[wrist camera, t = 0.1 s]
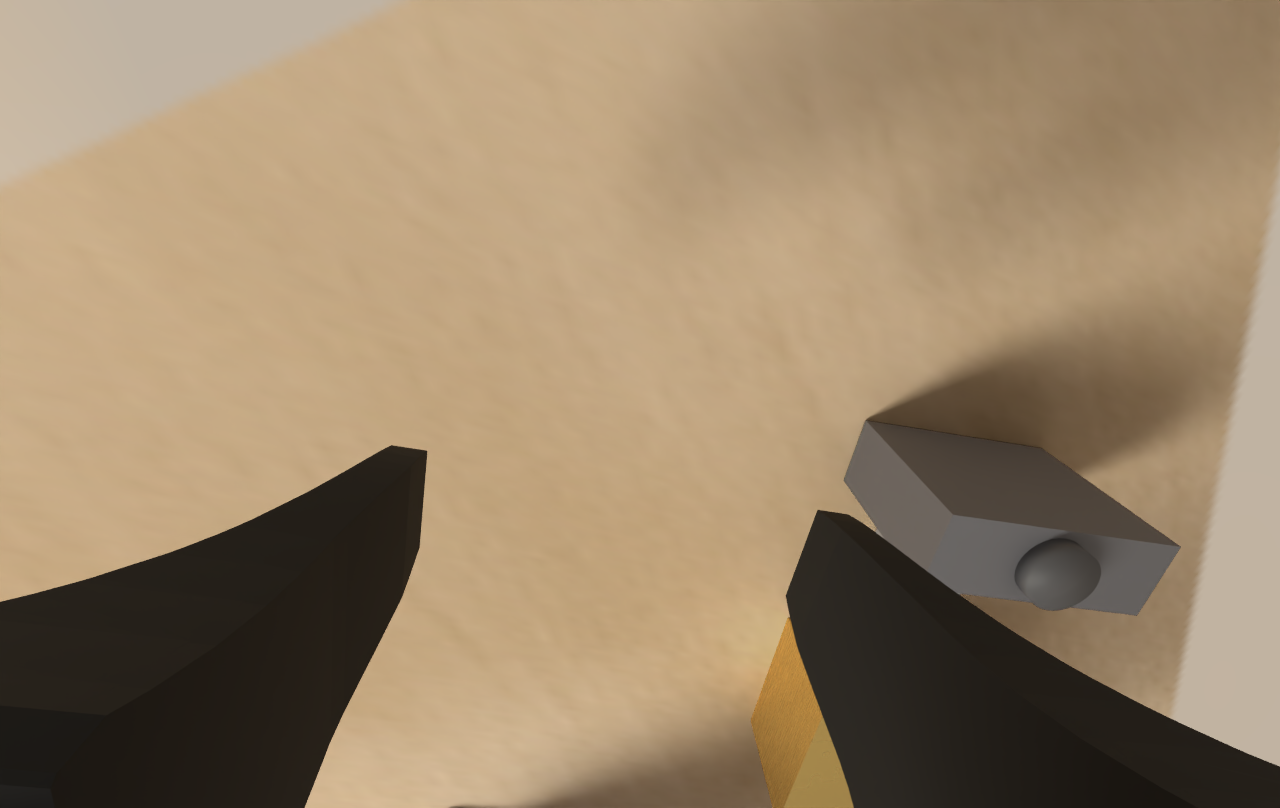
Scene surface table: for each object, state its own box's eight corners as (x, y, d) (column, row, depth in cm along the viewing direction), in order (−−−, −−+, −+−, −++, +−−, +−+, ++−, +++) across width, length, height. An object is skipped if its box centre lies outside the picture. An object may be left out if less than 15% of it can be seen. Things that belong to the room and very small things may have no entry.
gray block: (958, 615, 26) (1067, 760, 20) (801, 596, 25) (864, 742, 19) (1041, 448, 23) (1199, 560, 17) (865, 420, 22) (965, 528, 16)
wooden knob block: (902, 733, 29) (957, 844, 24) (750, 719, 28) (778, 832, 23) (951, 635, 26) (1022, 738, 22) (787, 617, 26) (826, 719, 21)
